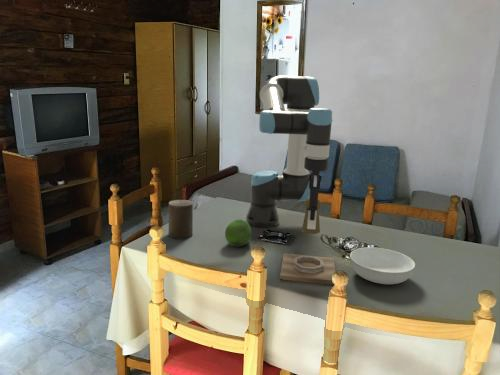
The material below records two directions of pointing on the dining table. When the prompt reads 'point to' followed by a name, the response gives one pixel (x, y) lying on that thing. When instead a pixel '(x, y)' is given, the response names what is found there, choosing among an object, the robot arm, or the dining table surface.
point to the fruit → (238, 233)
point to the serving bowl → (381, 265)
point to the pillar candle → (180, 219)
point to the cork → (304, 228)
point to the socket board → (307, 268)
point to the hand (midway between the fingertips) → (311, 225)
